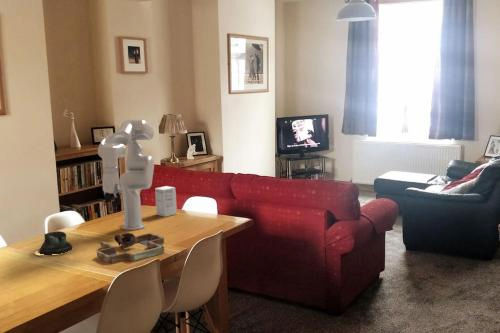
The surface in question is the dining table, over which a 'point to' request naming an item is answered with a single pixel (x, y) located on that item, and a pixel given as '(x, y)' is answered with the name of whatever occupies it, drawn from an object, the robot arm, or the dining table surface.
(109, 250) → the trap lane
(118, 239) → the pottery mug
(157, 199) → the supplement box
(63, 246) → the dark green fedora
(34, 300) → the dining table surface
